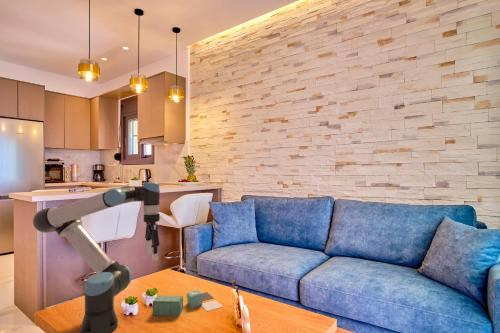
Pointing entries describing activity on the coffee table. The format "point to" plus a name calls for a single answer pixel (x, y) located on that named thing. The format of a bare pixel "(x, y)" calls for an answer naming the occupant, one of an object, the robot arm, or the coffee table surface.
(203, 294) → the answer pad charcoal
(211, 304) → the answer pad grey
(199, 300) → the letter cube
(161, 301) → the box
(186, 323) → the coffee table surface
